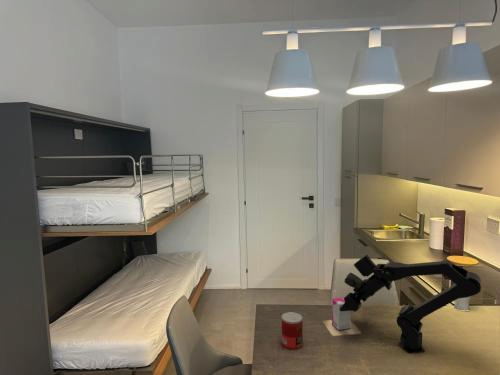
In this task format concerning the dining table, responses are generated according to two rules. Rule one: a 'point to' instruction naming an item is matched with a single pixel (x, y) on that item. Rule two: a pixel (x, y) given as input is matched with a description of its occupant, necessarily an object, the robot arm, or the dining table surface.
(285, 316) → the canned food
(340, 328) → the supplement box
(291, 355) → the dining table surface
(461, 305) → the beer glass
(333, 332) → the oak board
